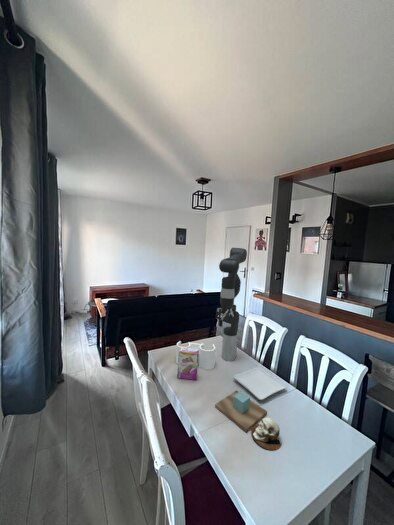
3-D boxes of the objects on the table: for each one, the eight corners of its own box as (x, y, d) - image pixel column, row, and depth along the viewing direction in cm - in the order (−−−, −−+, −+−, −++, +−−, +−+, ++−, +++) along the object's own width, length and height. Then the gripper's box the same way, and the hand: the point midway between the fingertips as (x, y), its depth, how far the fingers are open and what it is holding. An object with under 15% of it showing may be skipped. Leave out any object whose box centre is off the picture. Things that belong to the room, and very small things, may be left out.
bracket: (174, 365, 139) (174, 347, 137) (177, 357, 148) (178, 340, 147) (213, 370, 135) (215, 351, 134) (214, 362, 145) (215, 344, 144)
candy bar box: (177, 378, 126) (178, 351, 124) (178, 373, 131) (179, 347, 129) (196, 380, 125) (198, 353, 123) (197, 375, 129) (199, 348, 128)
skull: (258, 451, 83) (252, 418, 89) (250, 449, 91) (246, 418, 97) (288, 449, 84) (281, 416, 90) (278, 447, 92) (272, 417, 98)
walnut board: (236, 393, 116) (236, 390, 116) (266, 414, 103) (267, 411, 102) (215, 407, 106) (215, 404, 105) (246, 432, 92) (246, 429, 92)
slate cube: (239, 401, 108) (240, 391, 107) (249, 408, 104) (250, 397, 103) (232, 406, 104) (233, 395, 104) (242, 413, 100) (242, 402, 100)
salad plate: (287, 391, 120) (288, 385, 119) (260, 405, 108) (260, 399, 108) (257, 371, 138) (258, 365, 137) (231, 381, 126) (232, 375, 126)
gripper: (230, 293, 129) (228, 319, 130) (213, 296, 119) (211, 325, 121) (240, 295, 123) (238, 323, 125) (223, 299, 114) (221, 329, 115)
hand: (225, 324), depth 123 cm, fingers open, 8 cm apart
